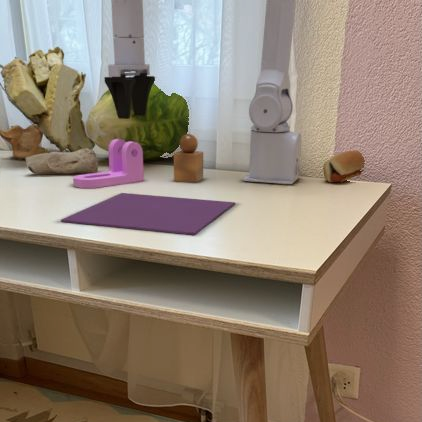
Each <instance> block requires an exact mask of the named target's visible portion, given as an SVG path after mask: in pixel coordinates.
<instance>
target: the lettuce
mask: <svg viewBox="0 0 422 422" xmlns="http://www.w3.org/2000/svg"><path fill="white" fill-rule="evenodd" d="M188 117H189V109H188V105H187V102H186V100H185V99H184V98H183V97H182V96H180V95H178V94H176V93H172V94H171V96H168V95H166V94H165V93H164V92H163V91H161V89H159V88H158V87H157V86H156V85H155V84H154V83H153V85H152V87H151V90H150V93H149V97H148V102H147V108H146V113H145V115H144V116H141V115H135V114H134V111H133V104H132V97H131V111H130V118H129V119H120V118H118V115H117V112H116V108H115V104H114V101H113V98H112V95H111V93H110V91H109V89H108V88H107V90H106V91H105V92H104V93H103V94H102V95H101V97H100V98H99V100H98V101H97V102H96V104H95V105H94V106H93V107H92V108H91V110H90V112H89V114H88V117H87V119H86V124H85V128H86V133H87V136H88V137H89V138H90V139H91V140H92V141H93V142H94V143H95V146H97V147H98V148H99V149H102V150H104V151H106V152H108V148H109V144H110V143H111V141H112V140H114V139H120V140H124V141H125V142H129V141H131V142H137V143H139V144H140V146H141V147H142V151H143V162H151V161H159V160H162V159H163V158H166V157H168V156H169V155H167V156H164V157H160V156H162V155H163V154H164V153H166V152H167V153H169V154H170V155H172V154H174V153H175V152H176V151H175V150H176V149H177V148H178V147H179V145H180V139H181V138H182V136H184V135H186V134H187V132H188V125H189V122H188V121H189V118H188ZM119 151H120V148H118V153H119ZM174 151H175V152H174ZM173 152H174V153H173ZM171 153H172V154H171ZM131 154H133V150H132V153H131Z"/></svg>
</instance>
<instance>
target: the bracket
mask: <svg viewBox="0 0 422 422" xmlns="http://www.w3.org/2000/svg"><path fill="white" fill-rule="evenodd" d="M118 148H120V151H119V153H118ZM132 150H133V154H131V153H132ZM107 152H108V165H109V166H108V167H109V168H108V171H100V172H99V171H98V173H83V174H78V175H77V174H76V175H73V176H72V181H73V186H74V188H75V187H76V188H80V189H96V188H104V187H110V186H117V185H124V184H125V185H126V184H130V183H137V182H143V181H145V178H144V177H145V176H144V161H143V151H142V147H141V146H140V144H139V143H137V142H131V141H129V142H125V141H124V140H120V139H114V140H112V141H111V143H110V144H109V148H108V151H107Z"/></svg>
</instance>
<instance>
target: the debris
mask: <svg viewBox="0 0 422 422" xmlns="http://www.w3.org/2000/svg"><path fill="white" fill-rule="evenodd" d="M64 59H65V53H64V50H63V49H62V48H60V47H59V46H55V47H54V49H52V48H48V49H47V52H46V53H45V52H44V51H43V50H42V49H38V50H35V52H33V53H31V54H29V55H28V60H29V61H28V63H26V61H23V59H20V58H18V56H14V59H13V60H11V61H10V62H8V63H7V64H5V65H2V64H1V63H0V69H1V71H0V75H1V78H2V82H3V85H2V83H1V82H0V87H1V89H2V91H4V93H5V94H6V97H7V100H8V101H9V103H10V104H12V106H14V108H16V110H18V111H19V112H20V113H21V114H22V115H23V116H24V117H25V118H26V120H28V122H29V123H30V125H33V124H35V125H37V126H38V127H39V128H40V130H41V133H42V134H43V137H45V139H46V140H48V141H49V144H50V145H51V144H52V145H54V146H55V148H57V149H58V150H59V152H65V151H66V152H75V151H78V150H82V149H84V148H88V149H90V150H92V151H93V152H94V153H95V150H94V148H95V146H96V144H95V143H94V142H93V141H92V140H91V139H90V137H89V135H88V134H87V132H86V124H85V122H84V120H83V112H82V110H81V100H80V94H81V91H83V88H84V85H85V82H86V77H87V74H86V73H83V71H81V73H80V72H79V70H77V69H75V68H72V67H70V66H68V65H66V64H65V63H64ZM33 126H34V125H33ZM34 127H35V126H34ZM35 128H36V129H37V130H38V131H39V132H40V130H39V129H38V128H37V127H35Z"/></svg>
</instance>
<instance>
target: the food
mask: <svg viewBox="0 0 422 422" xmlns="http://www.w3.org/2000/svg"><path fill="white" fill-rule="evenodd" d="M359 151H360V150H357V149H355V150H354V149H353V150H347V151H344V152H341V153H339V154H336V155H334V156H332V157H331V158H329V159H327V160H326V161H325V162H324V163H323V167H322V171H323V176H324V178H325V180H326V181H327V182H328V183H335V182H340V183H342V182H346V181H348V180H350V179H352V178H354V177H357V176H358V177H359V176H360V175H362V173H363V172H364V170H362V171H360V170H361V169H362V168H364V164H365V163H364V162H365V160H364V157H363V156H362V154H363V153H362V152H361V151H360V152H361V153H362V154H361V153H360V152H359ZM364 169H365V168H364Z"/></svg>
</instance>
